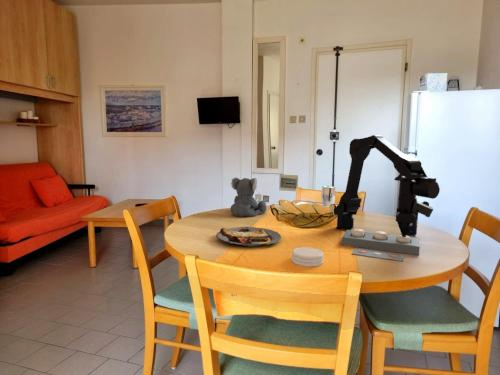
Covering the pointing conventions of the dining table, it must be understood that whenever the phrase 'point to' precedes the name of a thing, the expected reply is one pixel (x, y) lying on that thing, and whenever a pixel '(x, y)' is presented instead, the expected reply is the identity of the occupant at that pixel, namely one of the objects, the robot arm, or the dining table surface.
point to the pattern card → (378, 254)
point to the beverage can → (413, 228)
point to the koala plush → (246, 198)
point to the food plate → (248, 236)
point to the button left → (358, 232)
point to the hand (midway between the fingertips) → (403, 236)
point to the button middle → (380, 235)
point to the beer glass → (328, 195)
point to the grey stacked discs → (307, 257)
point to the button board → (381, 243)
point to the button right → (403, 239)
